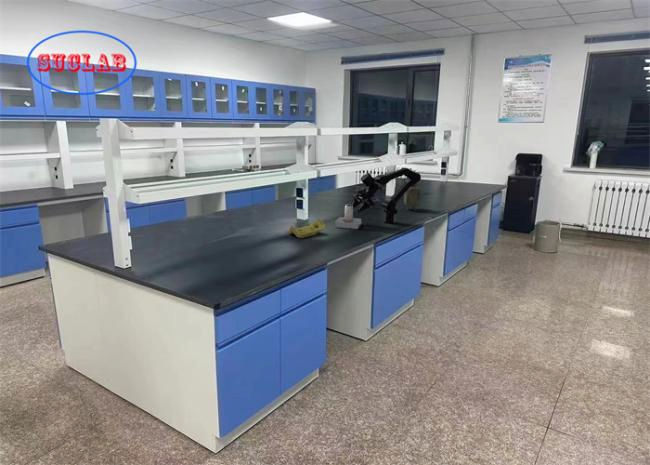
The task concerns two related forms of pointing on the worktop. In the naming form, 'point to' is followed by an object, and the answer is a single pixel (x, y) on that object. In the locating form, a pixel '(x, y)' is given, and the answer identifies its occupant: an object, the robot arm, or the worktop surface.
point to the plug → (349, 212)
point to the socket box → (347, 223)
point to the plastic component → (308, 229)
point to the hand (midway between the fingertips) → (354, 210)
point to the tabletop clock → (412, 196)
